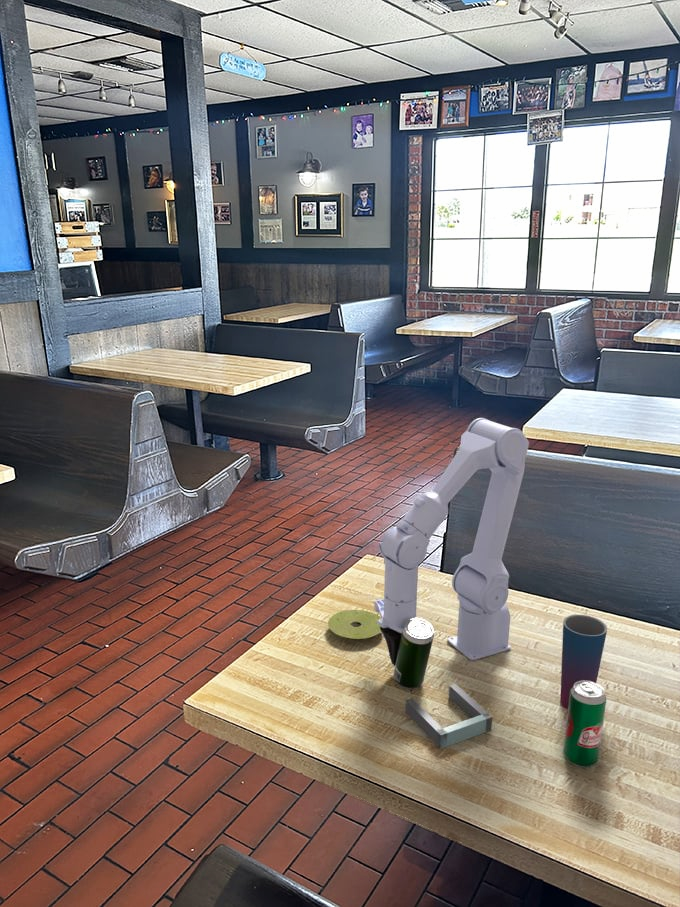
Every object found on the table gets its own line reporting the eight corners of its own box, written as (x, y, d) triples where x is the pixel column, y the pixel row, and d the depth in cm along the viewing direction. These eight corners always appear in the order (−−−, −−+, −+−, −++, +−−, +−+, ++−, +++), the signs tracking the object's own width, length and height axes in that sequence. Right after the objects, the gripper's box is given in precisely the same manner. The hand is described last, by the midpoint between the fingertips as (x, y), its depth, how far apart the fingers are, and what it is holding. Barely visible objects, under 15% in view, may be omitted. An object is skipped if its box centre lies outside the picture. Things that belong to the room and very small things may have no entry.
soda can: (578, 773, 105) (587, 702, 101) (555, 751, 109) (563, 683, 106) (605, 763, 106) (615, 694, 103) (581, 742, 111) (590, 675, 108)
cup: (597, 696, 122) (607, 618, 118) (597, 720, 116) (607, 639, 112) (555, 688, 124) (564, 611, 120) (553, 711, 118) (562, 631, 114)
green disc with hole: (336, 614, 149) (336, 605, 148) (389, 622, 146) (389, 613, 145) (320, 642, 138) (320, 633, 138) (377, 651, 135) (377, 642, 135)
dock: (454, 696, 122) (455, 683, 121) (491, 730, 114) (492, 716, 113) (405, 712, 118) (405, 699, 117) (439, 749, 109) (440, 735, 108)
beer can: (405, 695, 122) (416, 643, 116) (386, 674, 126) (396, 623, 120) (429, 684, 125) (441, 633, 119) (410, 663, 129) (421, 613, 123)
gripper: (360, 582, 129) (359, 648, 132) (403, 618, 116) (400, 690, 120) (393, 574, 132) (391, 639, 136) (438, 609, 119) (435, 680, 123)
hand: (398, 663), depth 128 cm, fingers closed
